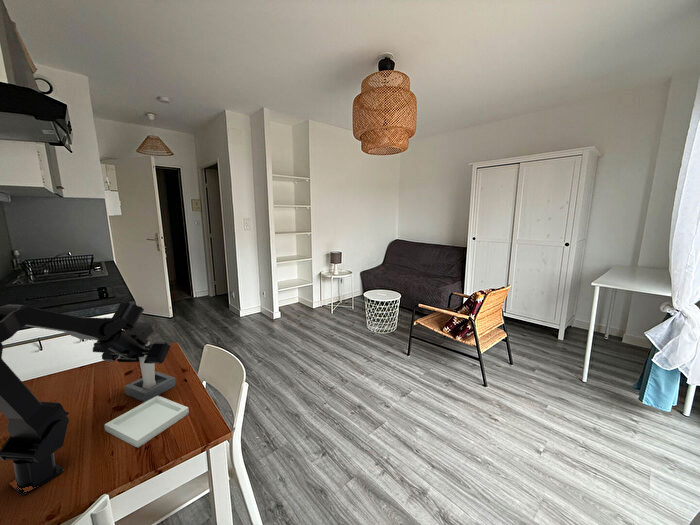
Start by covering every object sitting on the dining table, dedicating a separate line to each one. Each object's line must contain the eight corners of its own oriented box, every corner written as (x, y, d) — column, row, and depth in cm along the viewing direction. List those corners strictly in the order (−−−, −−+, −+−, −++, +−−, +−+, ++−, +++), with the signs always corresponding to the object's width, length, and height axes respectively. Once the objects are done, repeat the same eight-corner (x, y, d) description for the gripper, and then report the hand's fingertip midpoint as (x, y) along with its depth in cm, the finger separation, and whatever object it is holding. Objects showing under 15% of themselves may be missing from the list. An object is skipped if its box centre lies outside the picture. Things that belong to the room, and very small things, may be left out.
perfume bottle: (155, 380, 96) (152, 339, 94) (159, 384, 94) (156, 342, 92) (139, 385, 93) (135, 343, 91) (143, 390, 90) (139, 347, 88)
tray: (188, 413, 82) (188, 407, 82) (137, 447, 70) (137, 440, 69) (157, 401, 88) (157, 395, 88) (105, 431, 75) (104, 424, 75)
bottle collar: (175, 385, 96) (175, 377, 96) (145, 402, 87) (144, 393, 87) (156, 378, 100) (156, 371, 100) (125, 394, 91) (124, 385, 90)
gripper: (164, 318, 86) (188, 338, 98) (106, 316, 86) (137, 336, 99) (146, 354, 79) (174, 370, 91) (84, 351, 80) (120, 368, 92)
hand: (152, 360), depth 93 cm, fingers closed on perfume bottle, 4 cm apart
